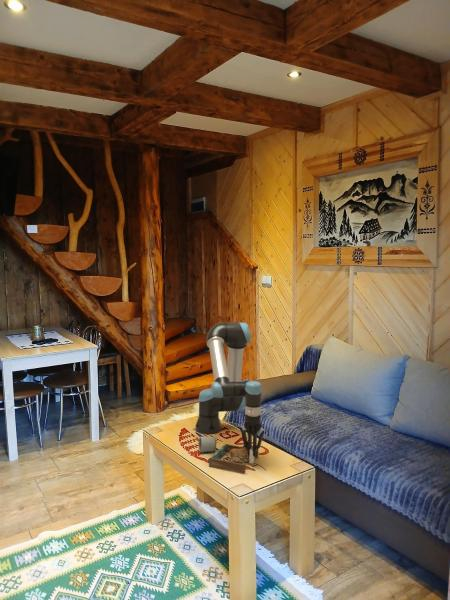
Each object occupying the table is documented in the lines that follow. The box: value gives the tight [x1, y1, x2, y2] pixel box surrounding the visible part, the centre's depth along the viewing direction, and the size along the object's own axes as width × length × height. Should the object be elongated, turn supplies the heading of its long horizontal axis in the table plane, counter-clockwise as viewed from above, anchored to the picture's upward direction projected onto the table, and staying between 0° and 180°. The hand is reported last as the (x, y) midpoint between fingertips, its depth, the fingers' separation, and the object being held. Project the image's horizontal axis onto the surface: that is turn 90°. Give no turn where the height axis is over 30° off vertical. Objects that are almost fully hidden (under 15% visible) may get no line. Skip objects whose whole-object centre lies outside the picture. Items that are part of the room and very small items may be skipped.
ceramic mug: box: [198, 436, 217, 453], centre depth 243 cm, size 11×8×8 cm
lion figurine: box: [228, 445, 253, 463], centre depth 229 cm, size 15×5×9 cm
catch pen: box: [208, 443, 259, 474], centre depth 229 cm, size 20×18×4 cm
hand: (251, 462), depth 226 cm, fingers closed
